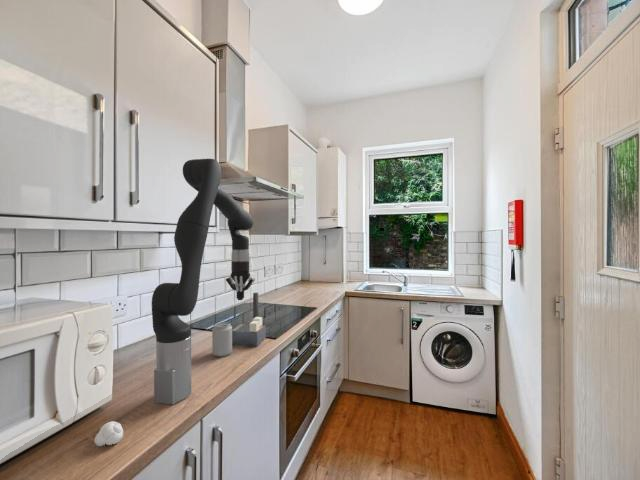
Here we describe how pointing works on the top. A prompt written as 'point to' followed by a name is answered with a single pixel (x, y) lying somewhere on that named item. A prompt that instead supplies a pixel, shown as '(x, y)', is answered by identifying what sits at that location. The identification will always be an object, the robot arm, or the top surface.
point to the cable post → (255, 305)
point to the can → (222, 339)
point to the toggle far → (258, 320)
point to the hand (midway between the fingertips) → (240, 299)
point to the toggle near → (254, 326)
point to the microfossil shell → (109, 434)
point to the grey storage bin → (248, 335)
